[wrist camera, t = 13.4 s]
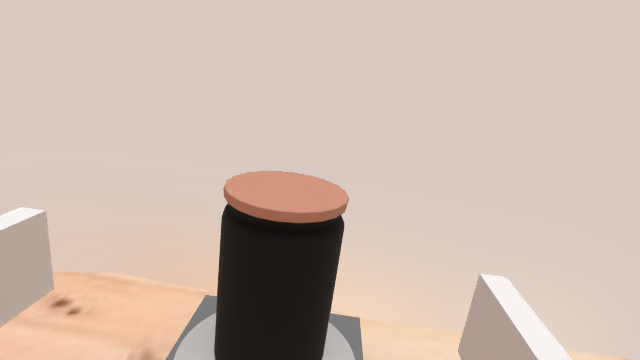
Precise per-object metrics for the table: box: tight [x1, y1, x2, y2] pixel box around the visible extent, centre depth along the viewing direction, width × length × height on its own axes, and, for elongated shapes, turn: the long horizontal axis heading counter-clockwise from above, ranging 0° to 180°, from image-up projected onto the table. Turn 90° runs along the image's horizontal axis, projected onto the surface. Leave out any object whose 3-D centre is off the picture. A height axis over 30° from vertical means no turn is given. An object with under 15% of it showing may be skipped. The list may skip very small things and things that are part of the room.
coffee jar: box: [214, 171, 349, 360], centre depth 33 cm, size 11×11×18 cm
